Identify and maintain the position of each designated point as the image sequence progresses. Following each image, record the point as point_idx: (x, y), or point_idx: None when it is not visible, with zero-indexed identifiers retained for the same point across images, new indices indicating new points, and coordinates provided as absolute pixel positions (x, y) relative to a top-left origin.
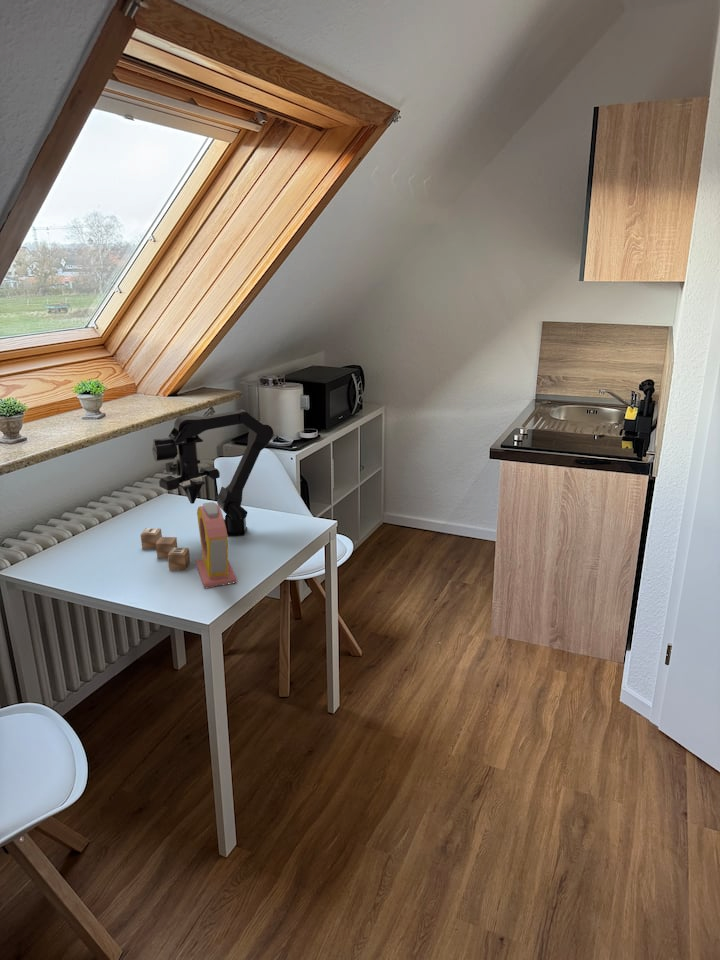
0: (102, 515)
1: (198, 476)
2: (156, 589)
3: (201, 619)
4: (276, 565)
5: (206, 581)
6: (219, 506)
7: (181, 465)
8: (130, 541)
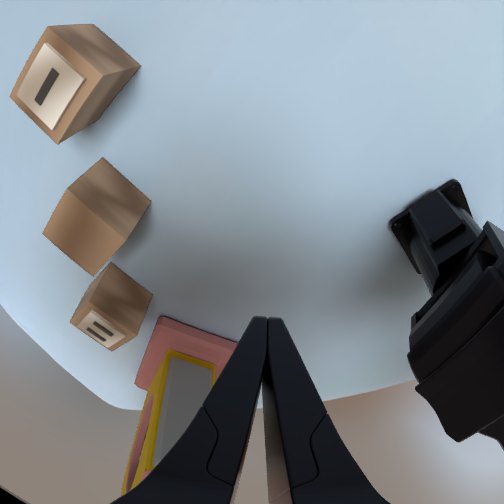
0: None
1: None
2: (56, 325)
3: (109, 402)
4: None
5: (140, 387)
6: (460, 287)
7: None
8: None
